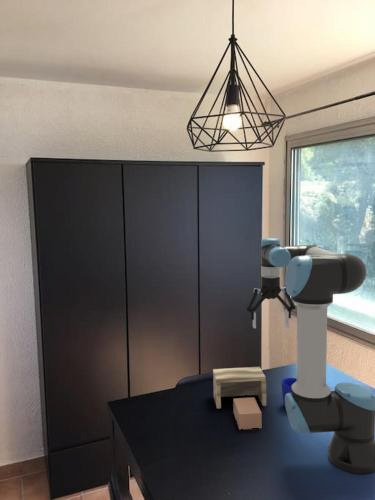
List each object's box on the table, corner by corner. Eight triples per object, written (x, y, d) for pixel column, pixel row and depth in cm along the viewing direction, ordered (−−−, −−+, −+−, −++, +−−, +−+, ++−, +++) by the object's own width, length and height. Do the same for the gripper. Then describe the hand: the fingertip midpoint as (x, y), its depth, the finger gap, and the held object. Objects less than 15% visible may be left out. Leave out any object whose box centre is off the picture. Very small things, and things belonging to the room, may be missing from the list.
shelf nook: (266, 405, 172) (266, 377, 170) (217, 408, 170) (216, 380, 169) (259, 393, 182) (259, 366, 181) (213, 395, 181) (212, 369, 180)
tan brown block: (261, 428, 155) (261, 413, 155) (239, 430, 155) (239, 414, 154) (254, 412, 167) (254, 397, 166) (233, 413, 167) (233, 398, 166)
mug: (307, 416, 162) (307, 391, 161) (277, 407, 170) (277, 383, 168) (315, 407, 169) (316, 383, 168) (286, 399, 176) (286, 375, 175)
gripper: (297, 273, 182) (297, 322, 185) (238, 275, 180) (238, 325, 183) (303, 276, 175) (303, 328, 177) (241, 279, 173) (242, 330, 176)
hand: (270, 326), depth 180 cm, fingers open, 13 cm apart
